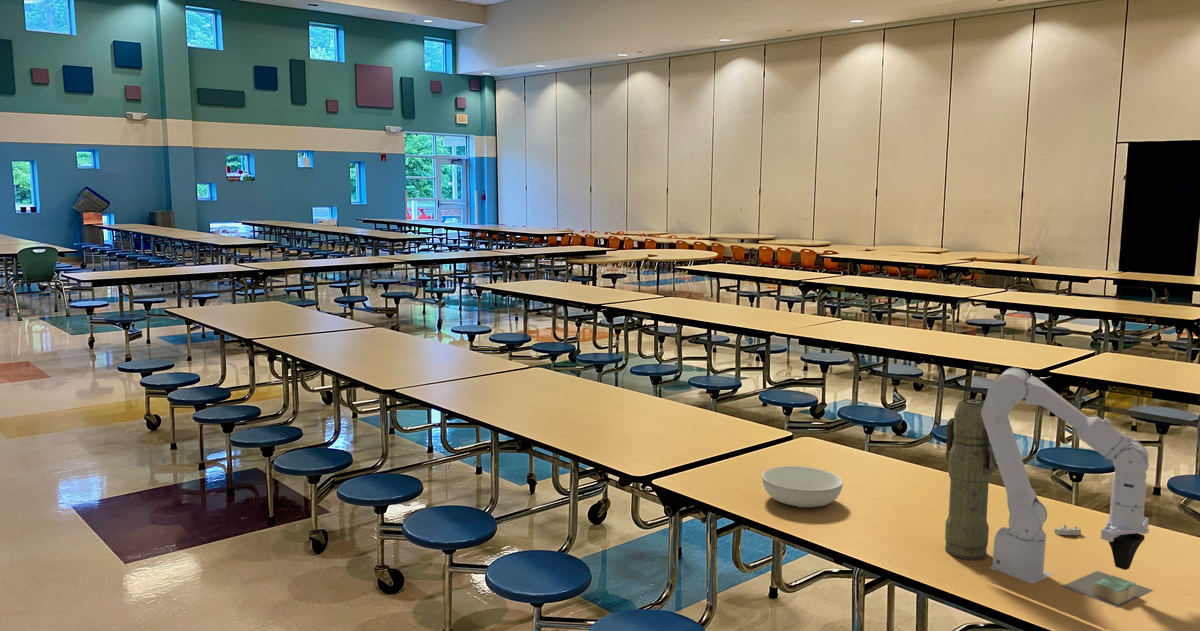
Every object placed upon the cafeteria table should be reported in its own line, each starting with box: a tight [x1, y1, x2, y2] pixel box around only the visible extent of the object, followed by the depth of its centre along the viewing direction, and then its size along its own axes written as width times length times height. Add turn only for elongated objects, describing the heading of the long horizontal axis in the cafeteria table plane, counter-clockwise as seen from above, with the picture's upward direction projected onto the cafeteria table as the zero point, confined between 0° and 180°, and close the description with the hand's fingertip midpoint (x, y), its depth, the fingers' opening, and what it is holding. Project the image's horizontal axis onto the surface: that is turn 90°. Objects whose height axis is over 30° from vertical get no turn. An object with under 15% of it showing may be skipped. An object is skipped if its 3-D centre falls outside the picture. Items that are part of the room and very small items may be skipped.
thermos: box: [944, 398, 997, 561], centre depth 190 cm, size 9×12×35 cm
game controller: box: [1053, 524, 1083, 540], centre depth 200 cm, size 6×12×3 cm, turn 23°
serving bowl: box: [761, 465, 844, 508], centre depth 225 cm, size 21×21×7 cm
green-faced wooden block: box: [1092, 574, 1138, 605], centre depth 169 cm, size 5×3×7 cm
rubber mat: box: [1061, 570, 1154, 608], centre depth 173 cm, size 11×14×1 cm
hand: (1122, 567), depth 170 cm, fingers closed
